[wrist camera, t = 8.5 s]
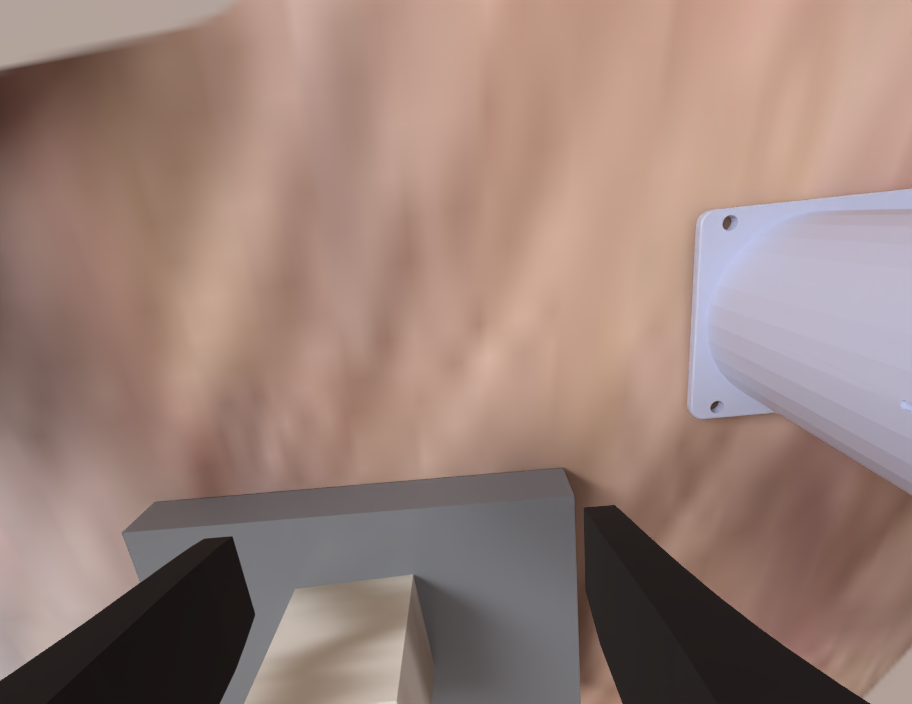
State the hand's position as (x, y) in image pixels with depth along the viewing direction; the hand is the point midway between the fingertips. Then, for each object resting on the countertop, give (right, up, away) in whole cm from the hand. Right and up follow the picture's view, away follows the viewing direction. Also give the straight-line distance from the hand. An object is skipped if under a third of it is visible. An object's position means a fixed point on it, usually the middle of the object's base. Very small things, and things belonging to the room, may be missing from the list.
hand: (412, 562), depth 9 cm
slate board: (-3, -7, +12) cm, 14 cm away
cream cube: (-3, -8, +10) cm, 13 cm away
